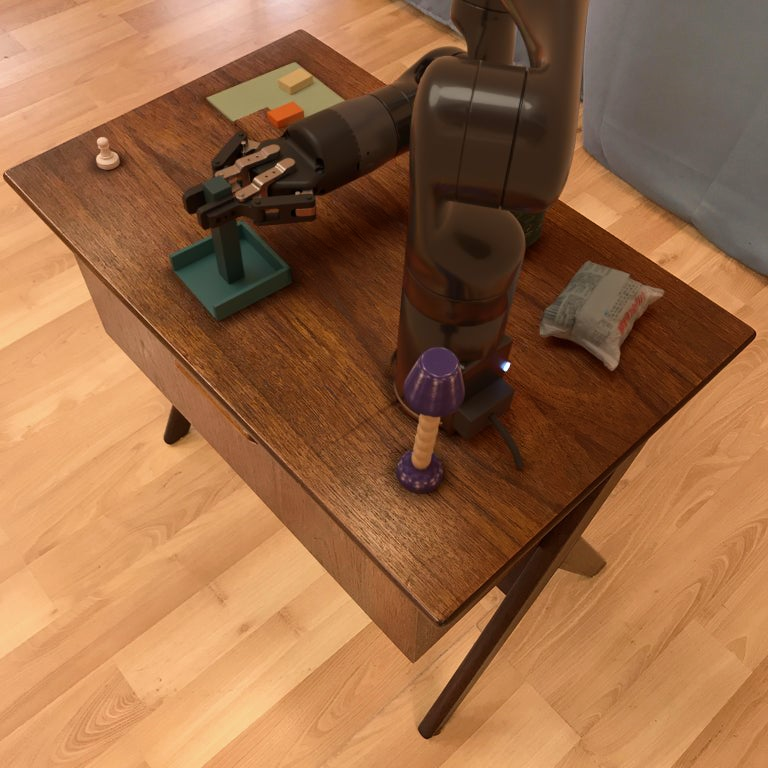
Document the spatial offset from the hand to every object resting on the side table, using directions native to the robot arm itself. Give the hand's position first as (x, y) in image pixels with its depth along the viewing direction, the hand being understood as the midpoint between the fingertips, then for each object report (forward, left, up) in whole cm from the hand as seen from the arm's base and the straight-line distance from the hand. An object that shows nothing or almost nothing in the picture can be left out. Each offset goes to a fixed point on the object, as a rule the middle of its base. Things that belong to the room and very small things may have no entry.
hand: (193, 212), depth 74 cm
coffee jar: (-12, -30, -11) cm, 34 cm away
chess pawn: (+25, -2, -11) cm, 27 cm away
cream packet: (+24, -29, -10) cm, 39 cm away
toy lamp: (-30, -3, -11) cm, 32 cm away
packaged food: (-28, -29, -11) cm, 42 cm away
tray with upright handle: (0, -3, -11) cm, 11 cm away
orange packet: (+19, -23, -9) cm, 32 cm away
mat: (+22, -25, -11) cm, 35 cm away
